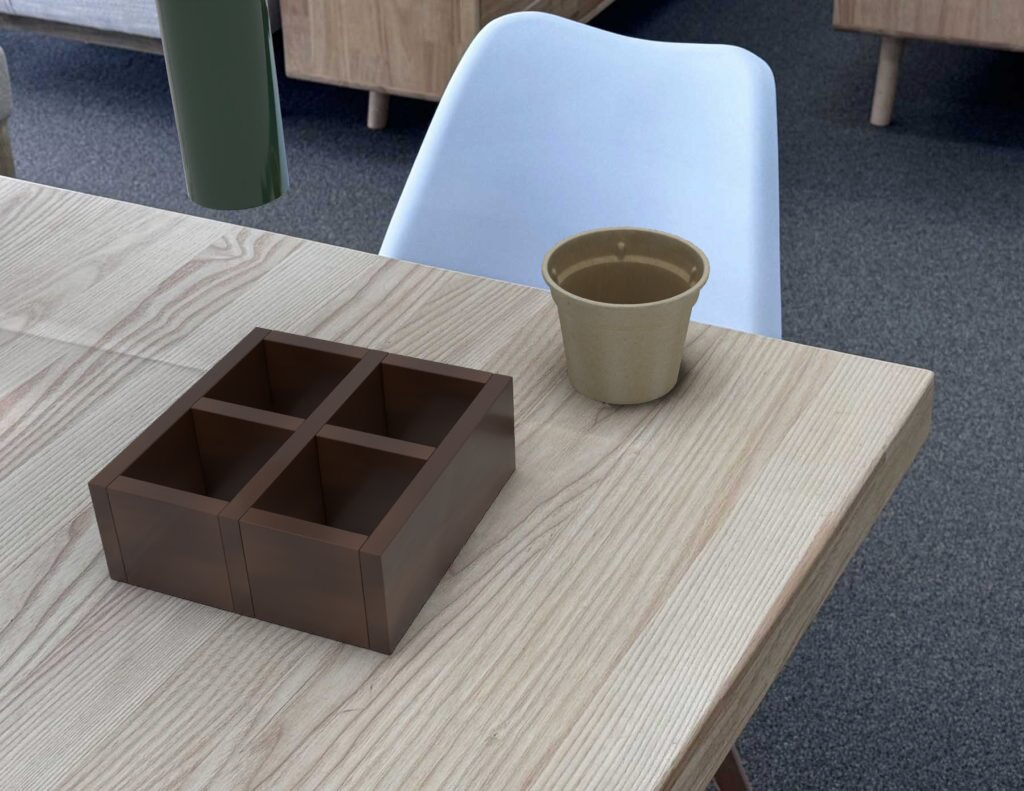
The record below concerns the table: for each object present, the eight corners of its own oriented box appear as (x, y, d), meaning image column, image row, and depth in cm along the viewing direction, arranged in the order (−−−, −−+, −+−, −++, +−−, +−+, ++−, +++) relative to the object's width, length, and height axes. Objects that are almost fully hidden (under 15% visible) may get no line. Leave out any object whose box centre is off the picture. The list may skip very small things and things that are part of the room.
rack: (109, 578, 70) (86, 482, 67) (268, 414, 82) (255, 325, 79) (390, 655, 65) (380, 555, 62) (516, 467, 77) (513, 376, 74)
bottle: (167, 202, 71) (109, -127, 62) (222, 162, 75) (174, -153, 66) (257, 217, 69) (209, -120, 60) (308, 175, 73) (271, -146, 64)
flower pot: (697, 444, 79) (705, 310, 74) (532, 431, 80) (529, 299, 75) (706, 356, 86) (714, 230, 82) (555, 346, 88) (554, 222, 83)
